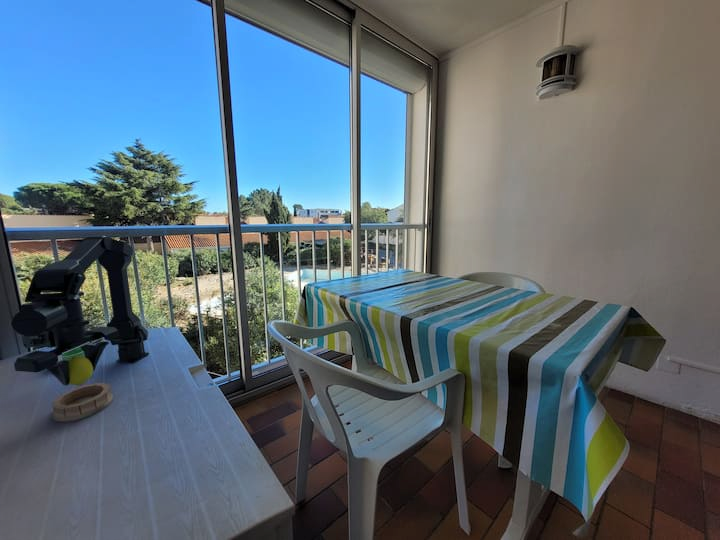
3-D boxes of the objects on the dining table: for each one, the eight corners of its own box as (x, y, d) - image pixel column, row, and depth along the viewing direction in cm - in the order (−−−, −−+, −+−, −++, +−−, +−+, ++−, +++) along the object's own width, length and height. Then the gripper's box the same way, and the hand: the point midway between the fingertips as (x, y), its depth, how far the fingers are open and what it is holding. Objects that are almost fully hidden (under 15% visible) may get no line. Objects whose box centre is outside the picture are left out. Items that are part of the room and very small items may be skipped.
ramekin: (45, 371, 89) (42, 358, 88) (67, 357, 97) (64, 346, 97) (80, 368, 91) (77, 355, 90) (98, 355, 99) (96, 343, 99)
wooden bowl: (88, 391, 79) (86, 380, 78) (124, 394, 77) (122, 383, 77) (38, 420, 68) (35, 407, 67) (80, 424, 66) (77, 411, 66)
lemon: (99, 382, 73) (94, 353, 71) (71, 394, 68) (64, 363, 66) (88, 377, 75) (83, 349, 74) (60, 388, 70) (53, 358, 69)
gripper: (79, 305, 78) (89, 357, 81) (-17, 333, 60) (1, 399, 63) (115, 307, 77) (124, 360, 80) (29, 336, 59) (45, 403, 62)
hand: (79, 378), depth 71 cm, fingers closed on lemon, 5 cm apart
